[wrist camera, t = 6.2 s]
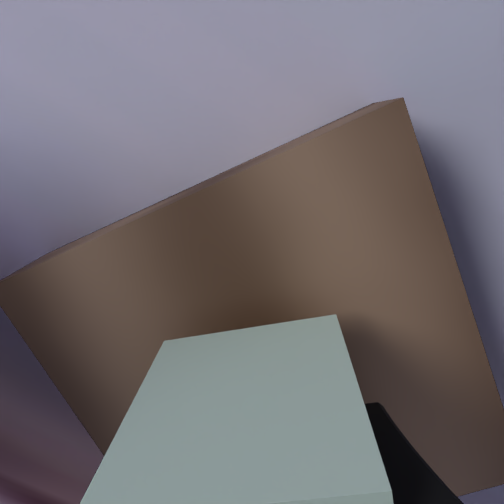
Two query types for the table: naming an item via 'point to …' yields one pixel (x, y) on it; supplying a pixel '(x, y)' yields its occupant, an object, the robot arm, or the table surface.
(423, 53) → the table surface
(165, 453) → the sage block
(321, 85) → the table surface
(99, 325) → the brown flat block
